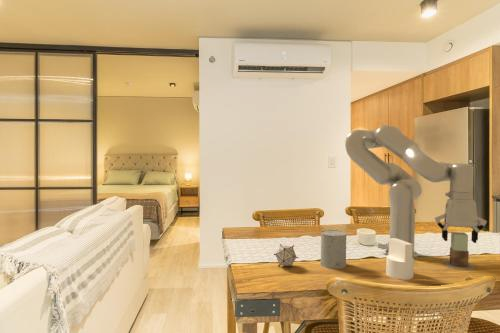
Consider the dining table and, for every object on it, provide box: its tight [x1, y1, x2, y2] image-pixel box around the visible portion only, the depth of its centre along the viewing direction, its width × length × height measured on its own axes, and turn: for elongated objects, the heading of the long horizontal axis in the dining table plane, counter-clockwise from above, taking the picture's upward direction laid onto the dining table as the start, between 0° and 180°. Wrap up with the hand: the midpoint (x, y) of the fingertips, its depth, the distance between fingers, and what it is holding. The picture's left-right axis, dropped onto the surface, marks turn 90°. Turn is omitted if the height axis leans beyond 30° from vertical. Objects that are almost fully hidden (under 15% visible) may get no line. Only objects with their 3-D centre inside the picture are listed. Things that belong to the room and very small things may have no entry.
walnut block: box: [449, 246, 470, 267], centre depth 136 cm, size 5×5×6 cm
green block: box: [450, 231, 469, 251], centre depth 135 cm, size 4×4×6 cm
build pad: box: [442, 260, 477, 271], centre depth 136 cm, size 9×9×1 cm
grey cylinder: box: [320, 229, 348, 270], centre depth 136 cm, size 10×10×12 cm
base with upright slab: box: [385, 237, 415, 281], centre depth 125 cm, size 9×9×12 cm
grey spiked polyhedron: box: [273, 243, 299, 269], centre depth 134 cm, size 9×8×10 cm
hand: (459, 241), depth 135 cm, fingers open, 9 cm apart
